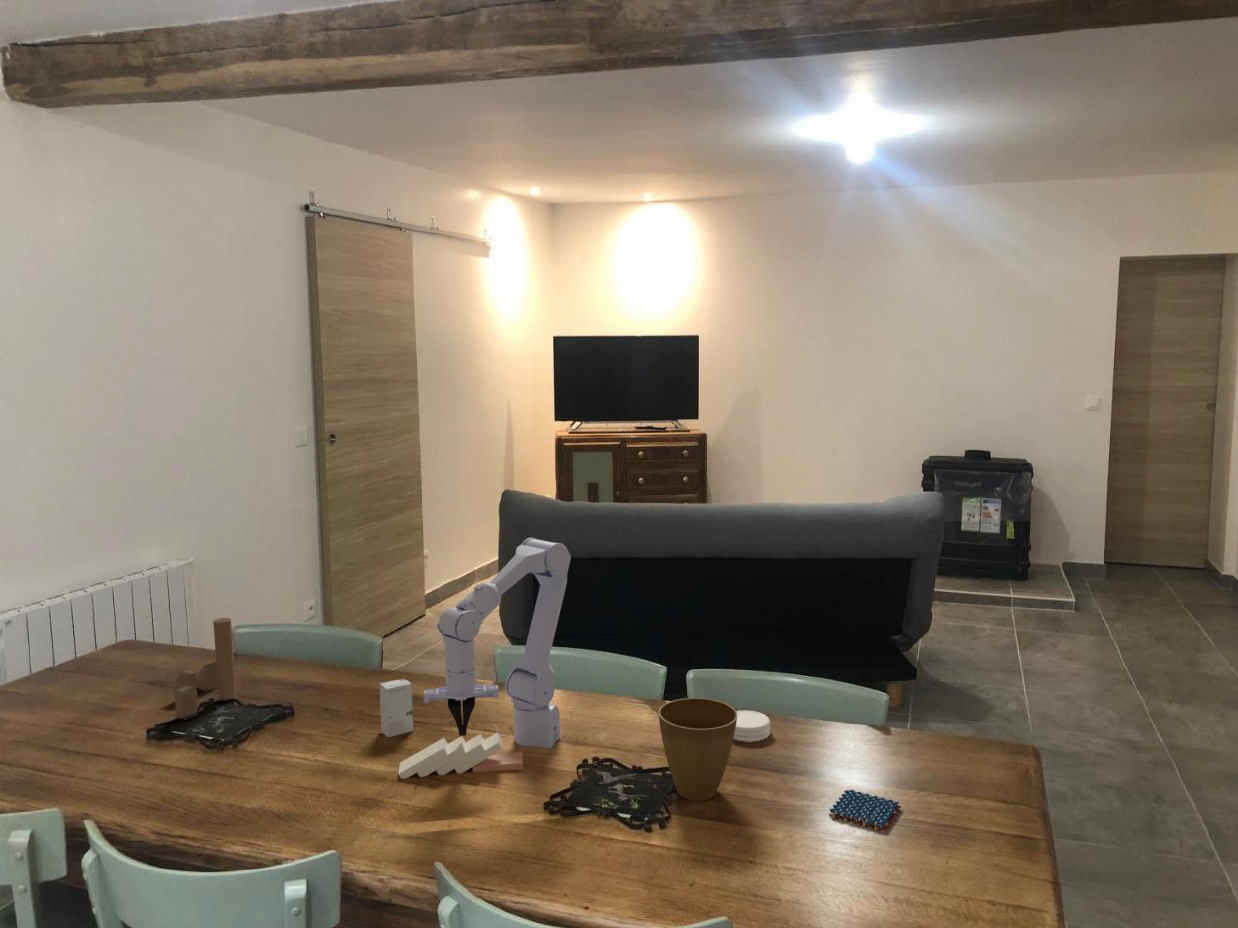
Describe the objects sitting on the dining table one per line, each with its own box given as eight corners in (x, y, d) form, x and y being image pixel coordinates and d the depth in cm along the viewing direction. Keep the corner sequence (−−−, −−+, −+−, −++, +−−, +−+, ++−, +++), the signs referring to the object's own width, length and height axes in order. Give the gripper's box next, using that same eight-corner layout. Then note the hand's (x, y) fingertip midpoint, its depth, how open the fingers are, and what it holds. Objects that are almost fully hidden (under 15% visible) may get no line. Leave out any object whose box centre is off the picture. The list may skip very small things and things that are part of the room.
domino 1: (404, 768, 187) (448, 743, 188) (402, 780, 182) (447, 754, 183) (400, 762, 187) (444, 737, 188) (398, 773, 182) (443, 748, 183)
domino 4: (458, 763, 189) (501, 738, 190) (458, 774, 184) (502, 748, 185) (454, 757, 189) (497, 731, 189) (454, 768, 184) (498, 742, 185)
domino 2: (422, 767, 188) (465, 742, 189) (420, 778, 183) (465, 752, 184) (418, 760, 188) (461, 735, 188) (416, 772, 183) (461, 746, 183)
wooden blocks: (203, 682, 239) (197, 606, 237) (249, 697, 228) (244, 618, 226) (138, 703, 225) (131, 624, 223) (184, 721, 214) (177, 637, 212)
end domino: (472, 763, 189) (522, 759, 191) (472, 774, 184) (523, 770, 186) (472, 755, 189) (521, 751, 191) (472, 766, 184) (523, 762, 186)
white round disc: (718, 739, 201) (718, 723, 201) (730, 721, 210) (731, 706, 210) (764, 746, 198) (764, 730, 197) (774, 728, 207) (774, 713, 206)
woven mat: (886, 836, 162) (886, 825, 162) (827, 820, 168) (827, 810, 167) (902, 810, 171) (903, 800, 170) (846, 796, 176) (846, 786, 176)
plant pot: (685, 818, 168) (684, 734, 166) (645, 784, 181) (644, 706, 179) (752, 799, 175) (753, 718, 173) (709, 767, 188) (709, 691, 186)
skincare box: (387, 743, 201) (385, 689, 200) (380, 735, 205) (378, 683, 203) (414, 736, 205) (412, 683, 203) (407, 729, 208) (405, 677, 207)
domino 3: (441, 765, 189) (484, 739, 189) (440, 776, 184) (484, 750, 184) (437, 759, 188) (480, 733, 189) (436, 770, 183) (480, 743, 184)
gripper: (421, 677, 179) (424, 744, 181) (497, 672, 181) (499, 739, 183) (423, 665, 186) (426, 729, 188) (496, 660, 188) (499, 724, 190)
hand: (462, 733), depth 186 cm, fingers closed
